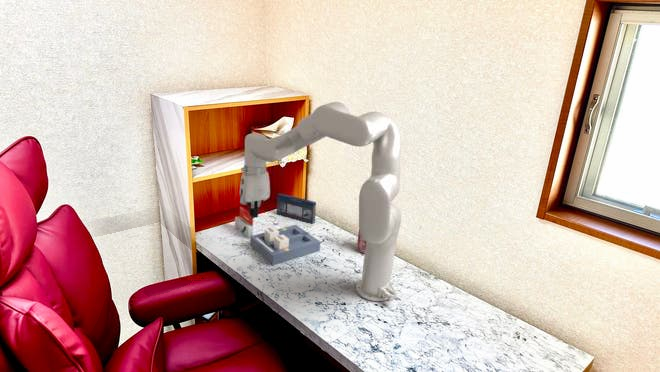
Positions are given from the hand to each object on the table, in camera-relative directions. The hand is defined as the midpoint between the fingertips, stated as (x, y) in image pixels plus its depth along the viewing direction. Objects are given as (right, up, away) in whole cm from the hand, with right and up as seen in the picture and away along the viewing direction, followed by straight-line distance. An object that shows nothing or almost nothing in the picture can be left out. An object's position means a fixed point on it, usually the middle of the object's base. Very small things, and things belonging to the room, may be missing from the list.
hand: (253, 216), depth 157 cm
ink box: (-7, -8, +19) cm, 22 cm away
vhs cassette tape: (+12, -4, +35) cm, 38 cm away
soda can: (+42, -15, +13) cm, 46 cm away
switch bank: (+10, -13, +9) cm, 19 cm away
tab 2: (+10, -13, +4) cm, 17 cm away
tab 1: (+5, -11, +9) cm, 15 cm away
